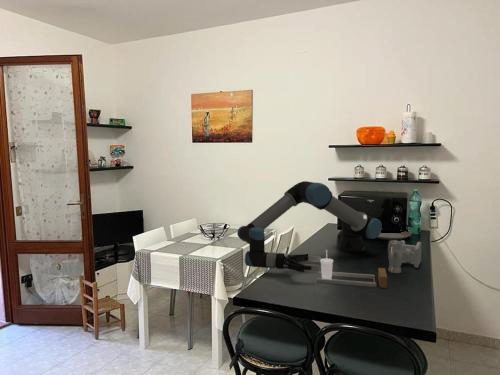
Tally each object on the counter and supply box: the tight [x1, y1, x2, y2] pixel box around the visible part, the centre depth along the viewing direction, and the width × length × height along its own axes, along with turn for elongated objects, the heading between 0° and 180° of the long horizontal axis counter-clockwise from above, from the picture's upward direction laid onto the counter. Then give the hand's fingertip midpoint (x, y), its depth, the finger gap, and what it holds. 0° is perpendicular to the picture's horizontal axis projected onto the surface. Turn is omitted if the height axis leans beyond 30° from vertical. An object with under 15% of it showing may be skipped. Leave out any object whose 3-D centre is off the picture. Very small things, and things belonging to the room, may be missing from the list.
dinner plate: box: [375, 230, 411, 241], centre depth 251 cm, size 27×27×3 cm
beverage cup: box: [319, 249, 334, 279], centre depth 173 cm, size 6×6×14 cm
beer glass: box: [387, 240, 403, 274], centre depth 181 cm, size 7×7×15 cm
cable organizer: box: [400, 239, 422, 269], centre depth 191 cm, size 15×11×12 cm
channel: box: [316, 267, 388, 289], centre depth 170 cm, size 30×12×5 cm, turn 74°
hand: (320, 263), depth 173 cm, fingers open, 13 cm apart
